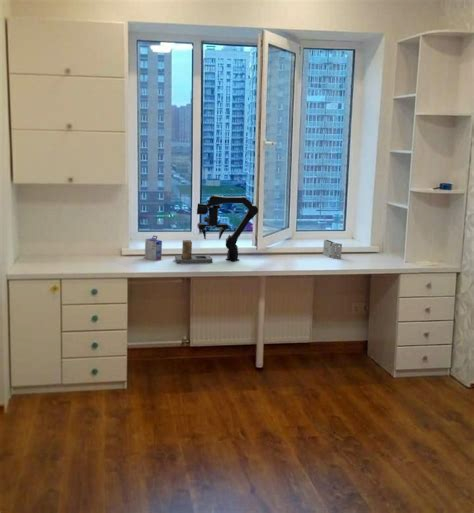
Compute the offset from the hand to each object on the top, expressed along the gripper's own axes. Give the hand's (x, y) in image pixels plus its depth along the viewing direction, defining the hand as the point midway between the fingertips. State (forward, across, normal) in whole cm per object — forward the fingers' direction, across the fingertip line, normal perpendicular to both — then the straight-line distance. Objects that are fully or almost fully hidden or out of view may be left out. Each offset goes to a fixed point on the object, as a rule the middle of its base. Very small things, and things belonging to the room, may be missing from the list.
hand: (212, 239), depth 406 cm
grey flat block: (+13, +12, +4) cm, 18 cm away
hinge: (+13, -83, -3) cm, 84 cm away
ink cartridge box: (+13, +36, -3) cm, 39 cm away
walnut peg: (+13, +17, +4) cm, 21 cm away
